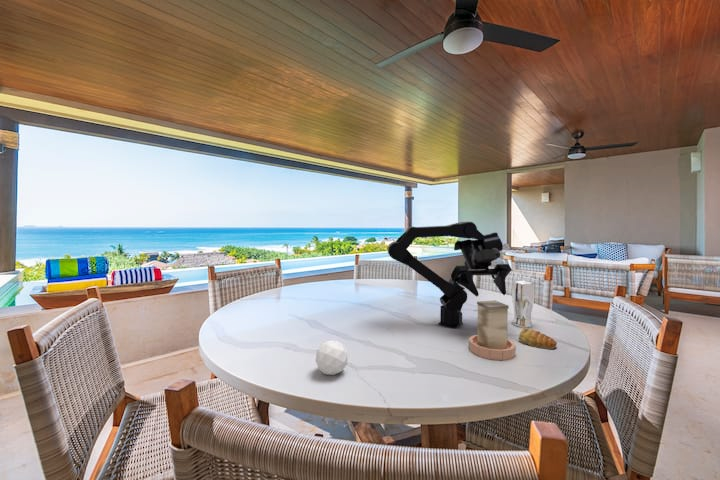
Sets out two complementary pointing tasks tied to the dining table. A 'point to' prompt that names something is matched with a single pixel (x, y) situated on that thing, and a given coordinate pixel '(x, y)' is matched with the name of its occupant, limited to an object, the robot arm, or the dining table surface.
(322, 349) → the geometric ball
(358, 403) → the dining table surface
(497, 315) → the lidded square box
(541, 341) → the pastry
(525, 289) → the beer glass
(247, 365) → the dining table surface
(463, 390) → the dining table surface
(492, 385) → the dining table surface
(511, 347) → the terracotta bowl
